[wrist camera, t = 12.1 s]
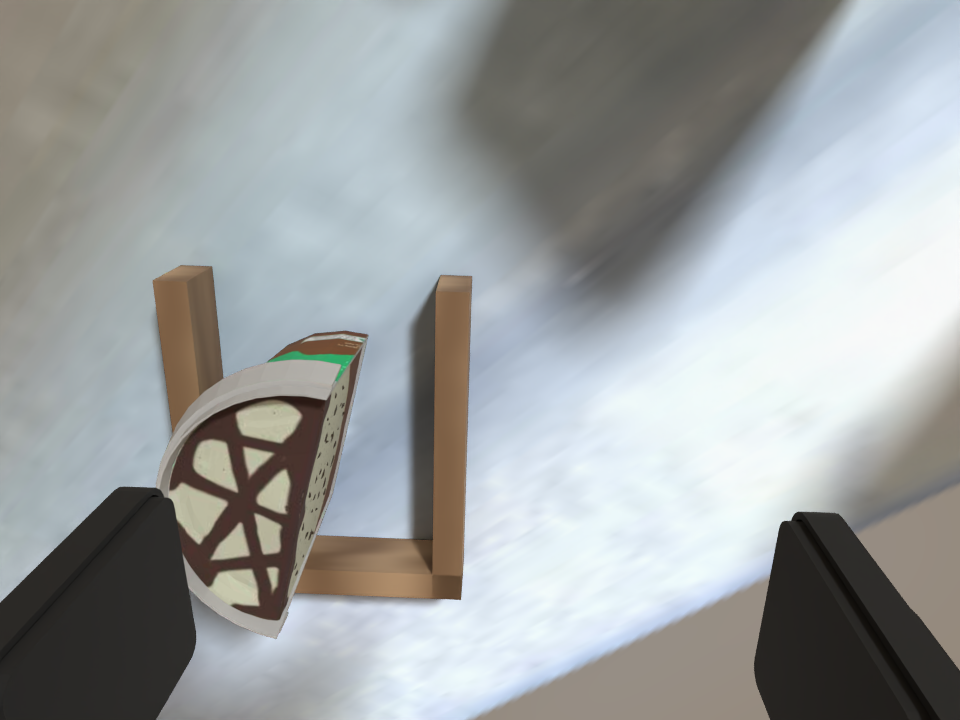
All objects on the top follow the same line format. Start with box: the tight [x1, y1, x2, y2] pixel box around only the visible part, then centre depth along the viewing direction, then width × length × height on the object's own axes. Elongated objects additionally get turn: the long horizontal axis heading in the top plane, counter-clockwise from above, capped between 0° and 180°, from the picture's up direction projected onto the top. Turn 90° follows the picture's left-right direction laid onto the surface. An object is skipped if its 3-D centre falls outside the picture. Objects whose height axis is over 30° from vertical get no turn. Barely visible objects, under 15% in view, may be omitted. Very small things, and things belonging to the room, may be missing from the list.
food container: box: [156, 331, 368, 639], centre depth 32 cm, size 12×6×10 cm, turn 165°
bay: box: [153, 265, 472, 600], centre depth 35 cm, size 14×16×3 cm
